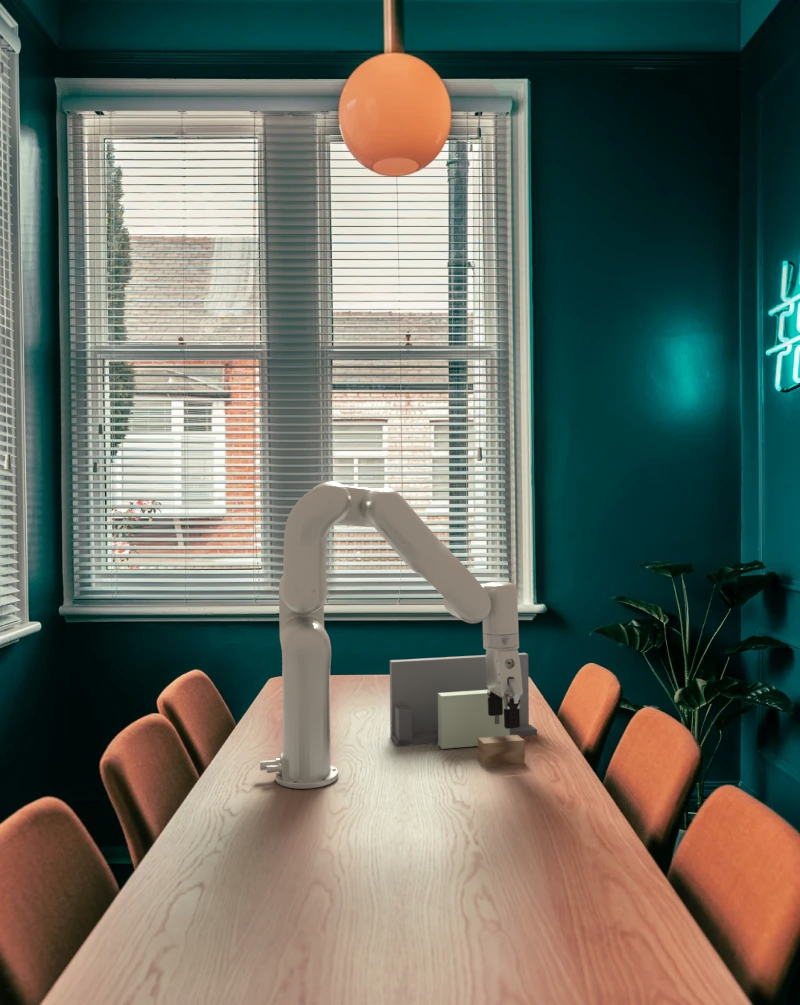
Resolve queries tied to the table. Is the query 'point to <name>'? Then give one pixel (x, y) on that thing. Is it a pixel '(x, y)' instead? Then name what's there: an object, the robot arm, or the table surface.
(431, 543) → the robot arm
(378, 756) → the table surface
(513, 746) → the walnut block
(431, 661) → the grey upright panel
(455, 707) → the door
